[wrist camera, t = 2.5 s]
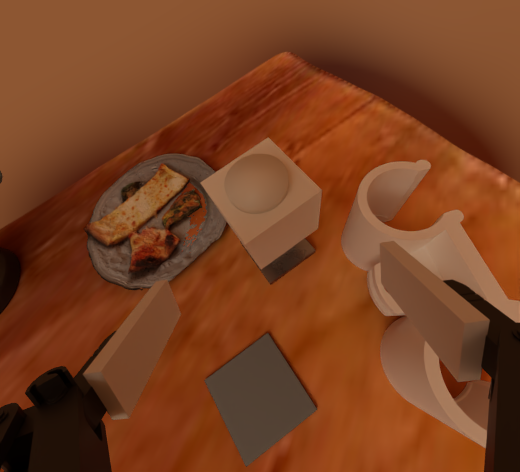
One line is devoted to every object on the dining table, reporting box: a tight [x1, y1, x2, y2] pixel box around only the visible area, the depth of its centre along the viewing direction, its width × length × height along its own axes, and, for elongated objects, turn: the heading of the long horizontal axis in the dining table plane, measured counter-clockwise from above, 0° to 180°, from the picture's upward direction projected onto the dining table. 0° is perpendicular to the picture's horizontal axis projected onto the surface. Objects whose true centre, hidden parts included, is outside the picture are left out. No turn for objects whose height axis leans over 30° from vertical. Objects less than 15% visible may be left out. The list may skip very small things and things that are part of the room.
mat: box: [204, 333, 317, 467], centre depth 30 cm, size 10×10×1 cm
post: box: [240, 238, 315, 284], centre depth 32 cm, size 8×8×11 cm
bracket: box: [341, 160, 520, 448], centre depth 26 cm, size 25×10×12 cm, turn 13°
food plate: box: [84, 154, 226, 290], centre depth 42 cm, size 25×23×4 cm
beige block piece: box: [200, 138, 322, 269], centre depth 25 cm, size 8×8×9 cm
